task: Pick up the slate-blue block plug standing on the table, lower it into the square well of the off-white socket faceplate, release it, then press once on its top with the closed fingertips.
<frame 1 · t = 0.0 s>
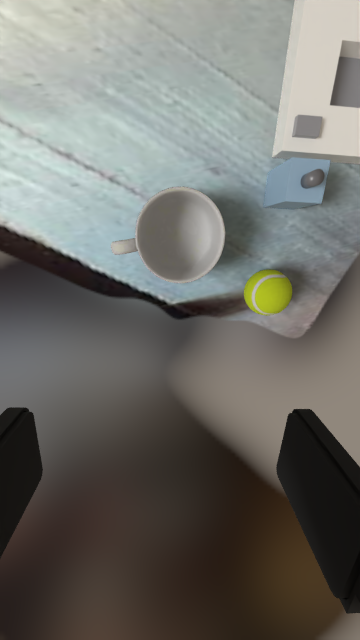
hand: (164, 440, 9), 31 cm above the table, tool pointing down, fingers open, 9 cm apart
socket: (343, 90, 32), on the table
tennis ball: (258, 287, 40), on the table
teacup: (166, 237, 37), on the table
plug: (280, 191, 35), on the table
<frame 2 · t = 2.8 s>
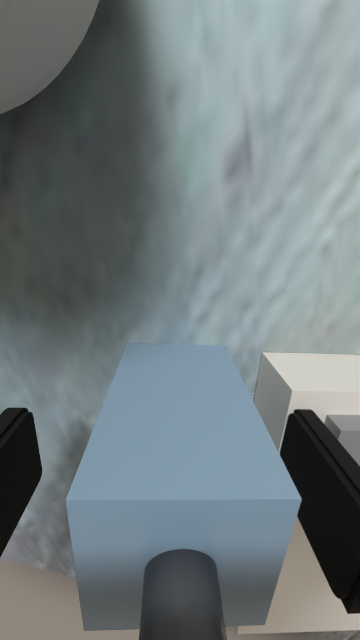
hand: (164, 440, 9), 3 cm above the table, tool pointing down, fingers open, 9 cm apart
plug: (174, 386, 12), on the table
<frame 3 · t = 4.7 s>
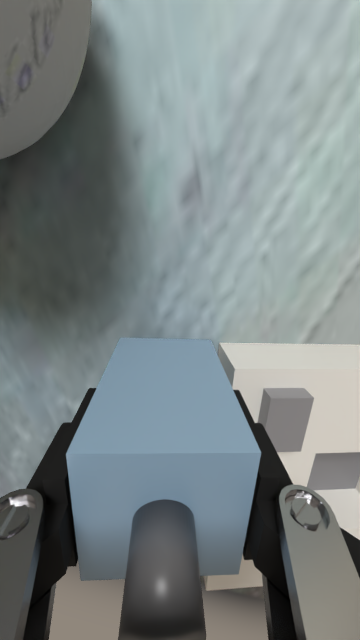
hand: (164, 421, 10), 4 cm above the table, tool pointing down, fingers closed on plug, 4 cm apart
socket: (321, 451, 17), on the table
plug: (164, 378, 13), point 1 cm above the table, touching gripper
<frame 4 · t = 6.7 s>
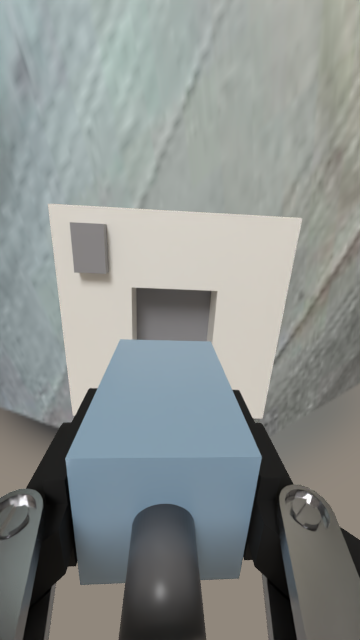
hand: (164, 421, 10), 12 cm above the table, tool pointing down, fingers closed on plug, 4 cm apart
socket: (172, 316, 21), on the table
plug: (164, 380, 13), point 9 cm above the table, touching gripper
when the fingers open (4 cm above the table, at t = 8.8 s): plug stays where it is, resting on socket.
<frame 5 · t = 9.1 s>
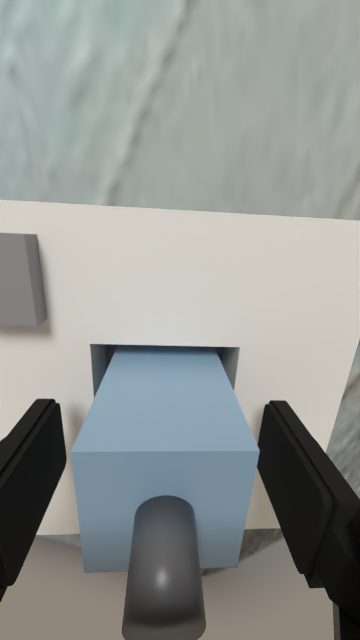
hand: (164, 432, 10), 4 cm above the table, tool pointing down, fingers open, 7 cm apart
socket: (164, 372, 14), on the table
plug: (165, 376, 13), resting on socket
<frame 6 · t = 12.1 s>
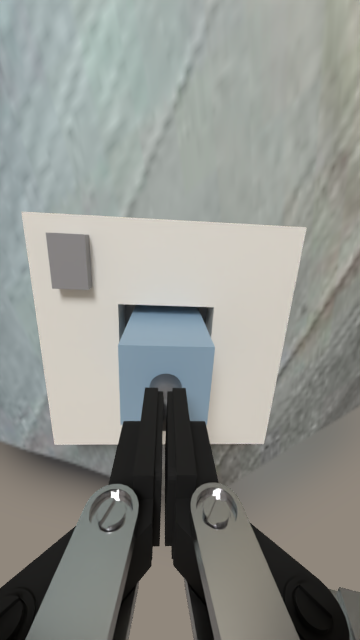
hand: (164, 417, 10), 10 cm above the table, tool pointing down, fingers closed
socket: (165, 332, 19), on the table
plug: (165, 334, 19), resting on socket, touching gripper
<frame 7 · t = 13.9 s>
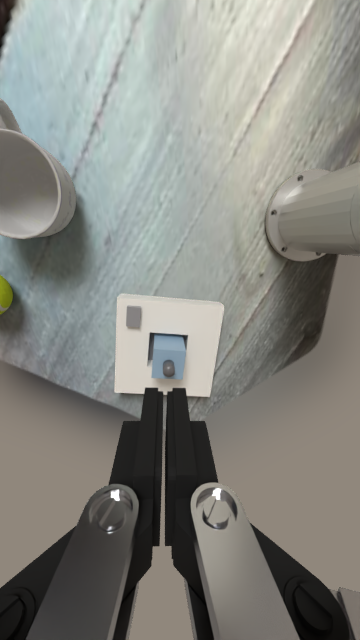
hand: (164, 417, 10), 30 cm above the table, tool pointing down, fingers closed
socket: (166, 343, 42), on the table
teacup: (41, 185, 34), on the table
plug: (167, 344, 42), resting on socket
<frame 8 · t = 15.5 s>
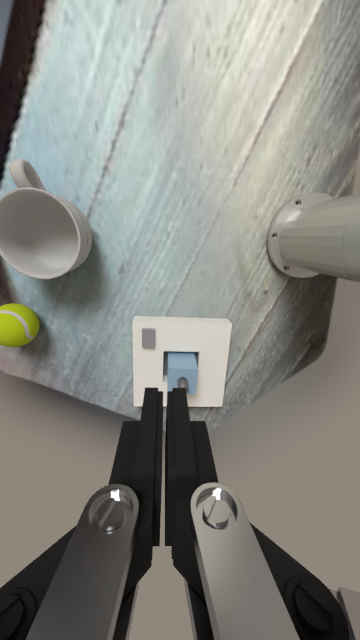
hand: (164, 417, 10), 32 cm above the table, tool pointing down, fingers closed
socket: (179, 359, 45), on the table
tennis ball: (26, 318, 42), on the table
teacup: (60, 224, 37), on the table
plug: (180, 360, 45), resting on socket
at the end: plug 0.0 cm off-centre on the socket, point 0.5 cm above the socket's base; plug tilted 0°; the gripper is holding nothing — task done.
